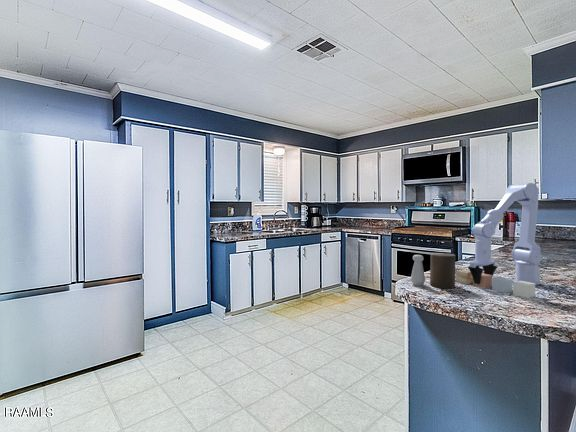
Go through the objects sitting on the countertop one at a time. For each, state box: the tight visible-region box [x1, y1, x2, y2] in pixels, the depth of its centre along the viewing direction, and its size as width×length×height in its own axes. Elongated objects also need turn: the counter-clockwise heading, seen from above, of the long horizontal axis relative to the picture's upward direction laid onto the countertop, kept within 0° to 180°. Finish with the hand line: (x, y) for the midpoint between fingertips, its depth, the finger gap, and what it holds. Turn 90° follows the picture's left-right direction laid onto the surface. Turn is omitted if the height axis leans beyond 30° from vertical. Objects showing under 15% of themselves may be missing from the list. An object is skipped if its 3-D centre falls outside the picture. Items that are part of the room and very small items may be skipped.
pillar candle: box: [429, 251, 456, 290], centre depth 136 cm, size 10×10×15 cm
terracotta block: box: [472, 272, 493, 289], centre depth 135 cm, size 5×5×5 cm
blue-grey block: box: [491, 276, 514, 294], centre depth 128 cm, size 5×5×5 cm
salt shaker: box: [410, 254, 426, 287], centre depth 138 cm, size 6×6×13 cm
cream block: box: [512, 281, 536, 299], centre depth 121 cm, size 5×5×5 cm
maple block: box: [455, 269, 473, 285], centre depth 143 cm, size 5×5×5 cm
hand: (482, 282), depth 135 cm, fingers open, 7 cm apart
